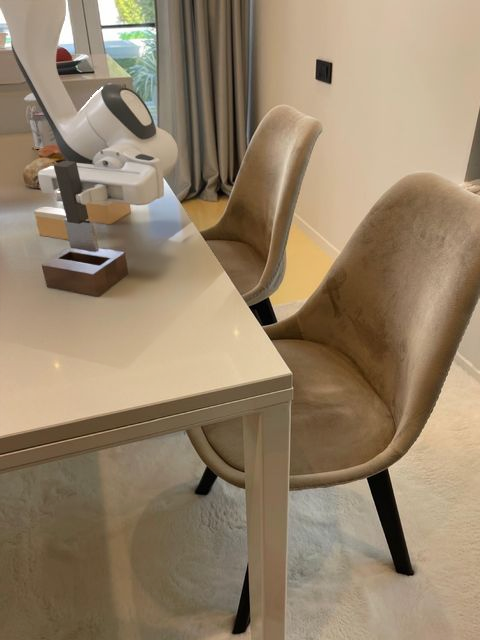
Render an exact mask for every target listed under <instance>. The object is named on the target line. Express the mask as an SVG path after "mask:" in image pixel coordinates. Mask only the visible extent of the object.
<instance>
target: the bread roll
mask: <svg viewBox="0 0 480 640" xmlns="http://www.w3.org/2000/svg"><path fill="white" fill-rule="evenodd" d="M56 164H58V163H56V162H55V161H54V160H52V159H48V158H39V157H38V158H37V159H35V160H33V161H31V162H30V163H28V164H27V165H26V166H25V167H24V170H23V174H22V178H23V182H24V184H25V185H26V186H27V187H29V188H32V189H34V188H36V190H41V187H40V184H39V179H38V172H39V171H40V170H42V169H45V168H48V167H51V166H54V165H56ZM38 188H39V189H38Z"/></svg>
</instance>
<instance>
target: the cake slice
mask: <svg viewBox="0 0 480 640" xmlns="http://www.w3.org/2000/svg"><path fill="white" fill-rule="evenodd" d="M33 211H34V212H33V213H34V218H35V221H36V225H37V230H38V233H39V236H42V237H49V238H55V239H60V240H67V241H69V238H68V234H67V230H66V226H65V222H64V219H66V214H65V210H64V208H60V207H53V206H45V205H44V206H42V207H39V208H37V209H35V210H33ZM86 221H88V220H86Z"/></svg>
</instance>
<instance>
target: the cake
mask: <svg viewBox="0 0 480 640" xmlns="http://www.w3.org/2000/svg"><path fill="white" fill-rule="evenodd" d="M86 208H87V213H88V217H89V218H88V219H87V220H88V221H93V223H97V224H103V225H113V224H114V223H116V222H117V221H119V220H121V219H123V218H124V217H125V216H127V215H129V214H130V213H132V208H131V204H124V203H116V202H108V201H95V202H90V203H88V204H86Z"/></svg>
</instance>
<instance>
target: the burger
mask: <svg viewBox="0 0 480 640" xmlns="http://www.w3.org/2000/svg"><path fill="white" fill-rule="evenodd" d="M37 156H38V158H48V159H52V160H54V161H55V162H56V163H60V162H62V161H66V160H65V159H64V157H63V156H62V154H61V152H60V150H59V148H58V145H48V146H45V147H43V148H42V149H40V150H38V152H37Z"/></svg>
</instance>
